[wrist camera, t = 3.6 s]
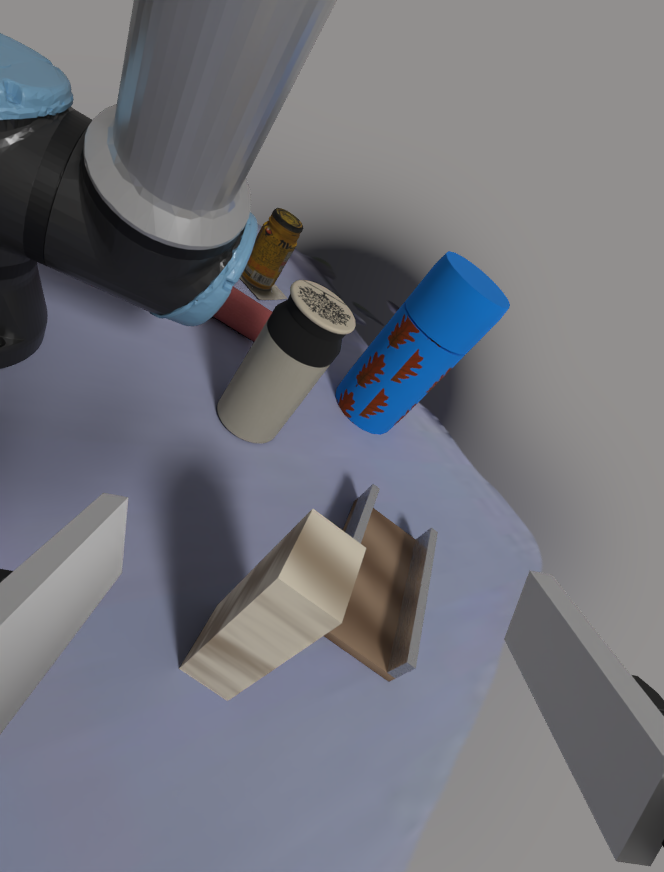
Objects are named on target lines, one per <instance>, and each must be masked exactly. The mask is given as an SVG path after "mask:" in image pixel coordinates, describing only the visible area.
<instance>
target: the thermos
mask: <svg viewBox="0 0 664 872" xmlns="http://www.w3.org/2000/svg"><path fill="white" fill-rule="evenodd" d="M509 306H510V304H509V301H508V299H507V298H506V296H505V295H504V293H503V292H502V291H501V290H500V289H499V287H498V286H497V285H496V284H495V283H494V282H493V281H492V280H491V279H490V278H489V277H488V276H487V275H486V274H485V273H483V272H482V271H481V270H480V269H479V268H477V267H476V266H475V265H474V264H472V263H471V262H470V261H468V260H467V259H465V258H464V257H462V256H460V255H458V254H456V253H454V252H450V251H449V252H447V253H446V254H445V255H444V256H443V257H442V258H441V259H440V260H439V261H438V262H437V263H436V264H435V265H434V266H433V268H432V269H431V270H430V271H429V272H428V274H427V275H426V276H425V277H424V279H423V280H422V281H421V282H420V284H419V285H418V286H417V287H416V288H415V290H414V291H413V292H412V294H411V295H410V296H409V297H408V298H407V300H406V301H405V302H404V303H403V305H402V306H401V307H400V308H399V310H398V311H397V312H396V313H395V315H394V316H393V317H392V318H391V319H390V321H389V322H388V323H387V325H386V326H385V327H384V328H383V329H382V331H381V332H380V333H379V334H378V336H377V337H376V338H375V339H374V341H373V342H372V343H371V344H370V346H369V347H368V348H367V349H366V350H365V352H364V353H363V354H362V355H361V357H360V358H359V359H358V360H357V362H356V363H355V364H354V365H353V367H352V368H351V369H350V370H349V372H348V373H347V374H346V376H345V377H344V379H343V380H342V382H341V383H340V384H339V386H338V387H337V389H336V395H335V396H336V399H337V403H338V405H339V407H340V408H341V410H342V412H343V413H344V414H345V415H346V416H347V417H348V419H349V420H350V421H351V422H352V423H354V424H355V425H357V426H358V427H359V428H361V429H362V430H365V431H367V432H370V433H372V434H383V433H386V432H388V431H389V430H390V429H391V428H392V427H393V426H394V425H395V424H396V423H398V422H399V421H400V420H401V419H402V418H403V417H404V416H405V415H406V414H407V413H408V412H409V411H410V410H411V409H412V408H413V407H414V406H415V405H416V404H417V403H418V402H419V401H420V400H421V399H422V398H423V397H424V396H425V395H426V394H427V393H428V392H429V391H430V390H431V389H432V388H433V387H434V386H435V385H436V384H437V383H438V382H439V381H440V380H441V379H442V378H443V377H444V376H445V375H446V374H447V373H448V372H449V371H450V370H451V369H452V368H453V367H454V366H455V365H456V364H457V363H458V362H459V360H461V358H462V357H463V356H465V354H467V352H469V350H470V349H471V348H472V347H473V346H474V345H475V344H476V343H477V342H478V341H479V340H480V339H481V338H482V337H483V336H484V335H485V334H486V333H487V332H488V331H489V330H490V329H491V328H492V327H493V326H494V325H495V324H496V323H497V322H498V321H499V320H500V319H501V318H502V316H503V315H504V313H506V311H507V310H508V309H509Z"/></svg>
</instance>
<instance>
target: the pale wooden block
mask: <svg viewBox="0 0 664 872" xmlns="http://www.w3.org/2000/svg"><path fill="white" fill-rule="evenodd" d="M365 551H366V547H364V546H363V545H362V544H360V543H359V542H358V541H356V540H355V539H353V538H352V537H351V536H349V535H348V534H347V533H345V532H344V531H343V530H341V529H340V528H338V527H337V526H336V525H334V524H333V523H332V522H330V521H329V520H328V519H326V518H325V517H324V516H322V515H321V514H319V513H318V512H317V511H315V510H314V509H312V510H311V511H310V512H309V513H308V514H307V515H306V516H305V517H304V518H303V519H302V520H301V521H300V522H299V523H298V524H297V525H296V526H295V527H294V528H293V529H292V530H291V531H290V532H289V533H288V534H287V535H286V536H285V537H284V538H283V539H282V540H281V541H280V542H279V543H278V544H277V545H276V546H275V547H274V548H273V549H272V550H271V551H270V552H269V553H268V554H267V555H266V556H265V557H264V558H263V559H262V560H261V561H260V562H259V563H258V564H257V565H256V566H255V568H254V569H253V570H252V571H251V572H250V573H249V574H248V575H247V576H246V577H245V578H244V579H243V580H242V581H241V582H240V583H239V584H238V585H237V586H236V587H235V588H234V589H233V590H232V591H231V592H230V593H229V594H228V595H227V596H226V597H225V598H224V599H223V600H222V601H221V602H220V603H219V604H218V605H217V607H216V608H215V610H214V612H213V613H212V615H211V617H210V618H209V620H208V622H207V623H206V625H205V627H204V628H203V630H202V632H201V633H200V635H199V637H198V638H197V640H196V641H195V643H194V645H193V646H192V648H191V650H190V651H189V653H188V655H187V656H186V658H185V660H184V661H183V663H182V665H181V666H180V668H179V669H180V670H182V671H183V672H185V673H186V674H188V675H189V676H191V677H192V678H194V679H195V680H197V681H198V682H200V683H201V684H203V685H204V686H206V687H207V688H209V689H210V690H212V691H213V692H215V693H216V694H218V695H219V696H221V697H222V698H224V699H225V700H227V701H228V700H230V699H231V698H233V697H234V696H236V695H237V694H239V693H240V692H242V691H243V690H245V689H246V688H247V687H249V686H250V685H252V684H253V683H255V682H256V681H258V680H259V679H261V678H262V677H264V676H265V675H267V674H268V673H270V672H271V671H272V670H274V669H275V668H277V667H278V666H280V665H281V664H283V663H284V662H286V661H287V660H289V659H290V658H292V657H293V656H294V655H296V654H297V653H299V652H300V651H302V650H303V649H305V648H306V647H308V646H309V645H311V644H312V643H314V642H315V641H317V640H318V639H319V638H321V637H322V636H324V635H325V634H327V633H328V632H330V631H331V630H333V629H334V628H336V627H337V626H339V625H340V624H342V621H343V618H344V615H345V612H346V609H347V606H348V603H349V600H350V597H351V593H352V590H353V587H354V584H355V581H356V578H357V575H358V572H359V569H360V566H361V563H362V560H363V557H364V554H365Z"/></svg>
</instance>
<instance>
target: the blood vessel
mask: <svg viewBox="0 0 664 872" xmlns="http://www.w3.org/2000/svg"><path fill="white" fill-rule="evenodd" d="M271 314H272V311H270V310H269V309H267V308H265V307H264V306H262V305H261V304H259V303H258V302H256V301H255V300H253V299H251V298H250V297H248V296H247V295H245V294H244V293H242V292H241V291H239V290H238V289H236V288H234V287H233V286H232V290H231V293H230V295H229V297H228V298H227V300H226V301H225V302H224V304H223V305H222V306H221V308H220V309H219V310H218V311H217V312H216V313H215V314H214V315H213V317H215V318H217V319H218V320H220V321H221V322H223V323H225V324H226V325H228V326H230V327H231V328H233V329H234V330H236V331H238V332H239V333H241V334H242V335H244V336H246V337H247V338H249V339H251V340H252V341H254V342H255V340H256V338H257V337H258V335H259V334H260V332H261V330H262V329H263V327H264V325H265V324H266V322H267V320H268V319H269V317H270V315H271Z"/></svg>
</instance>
